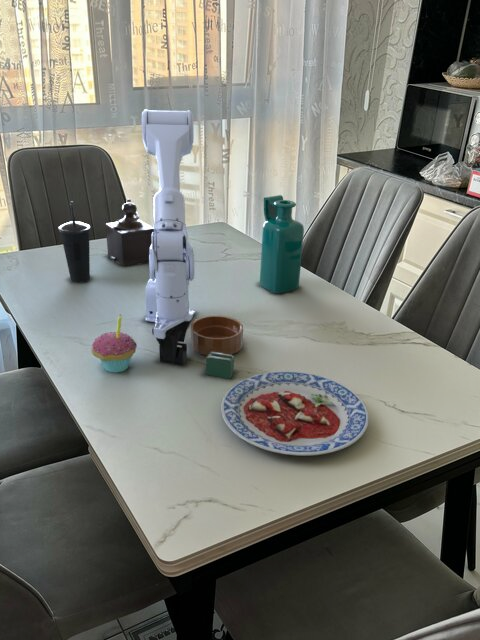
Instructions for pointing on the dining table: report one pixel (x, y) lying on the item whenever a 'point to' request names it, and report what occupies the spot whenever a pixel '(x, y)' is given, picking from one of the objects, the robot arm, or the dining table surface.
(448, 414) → the dining table surface
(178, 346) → the black clip
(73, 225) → the drinking cup
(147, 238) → the dark brown knobbed box
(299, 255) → the teal green bottle
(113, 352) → the cupcake
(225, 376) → the green clip
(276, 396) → the ceramic plate
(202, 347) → the bowl
